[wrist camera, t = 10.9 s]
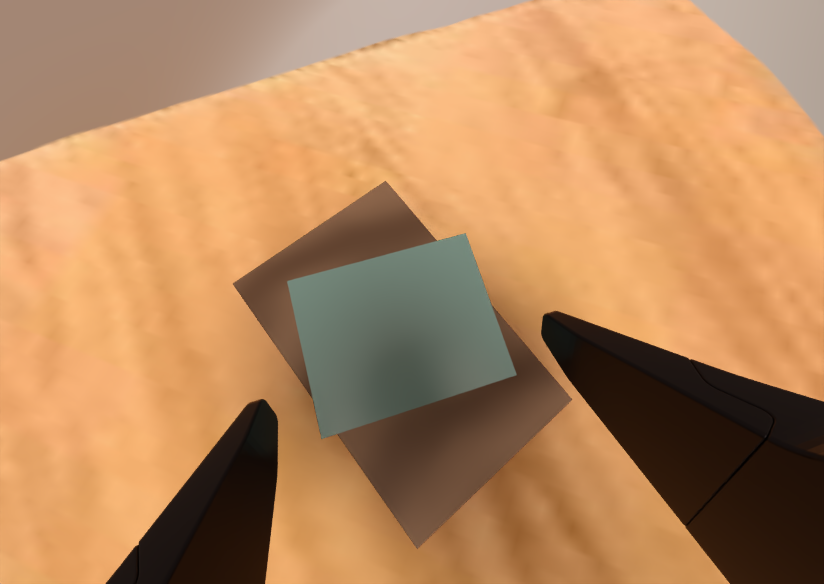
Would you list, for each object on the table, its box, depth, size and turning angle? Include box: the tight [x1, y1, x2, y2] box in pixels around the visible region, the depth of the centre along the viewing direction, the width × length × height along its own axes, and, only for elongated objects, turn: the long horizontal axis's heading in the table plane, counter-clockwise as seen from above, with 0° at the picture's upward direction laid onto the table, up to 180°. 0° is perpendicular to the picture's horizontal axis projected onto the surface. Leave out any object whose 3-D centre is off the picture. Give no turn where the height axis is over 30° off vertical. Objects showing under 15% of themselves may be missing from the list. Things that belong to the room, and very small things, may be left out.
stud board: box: [233, 181, 572, 549], centre depth 18 cm, size 20×13×5 cm, turn 38°
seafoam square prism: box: [287, 233, 517, 439], centre depth 15 cm, size 6×7×9 cm
